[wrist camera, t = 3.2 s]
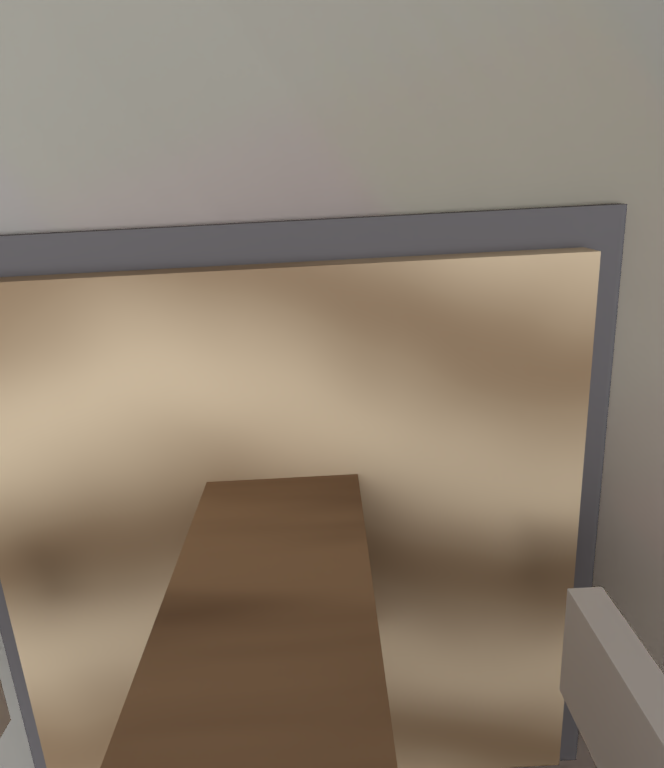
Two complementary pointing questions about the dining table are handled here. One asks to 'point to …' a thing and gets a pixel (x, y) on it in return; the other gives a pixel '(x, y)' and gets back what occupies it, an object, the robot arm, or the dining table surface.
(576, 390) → the oak lid
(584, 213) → the rubber mat
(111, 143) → the dining table surface
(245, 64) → the dining table surface
